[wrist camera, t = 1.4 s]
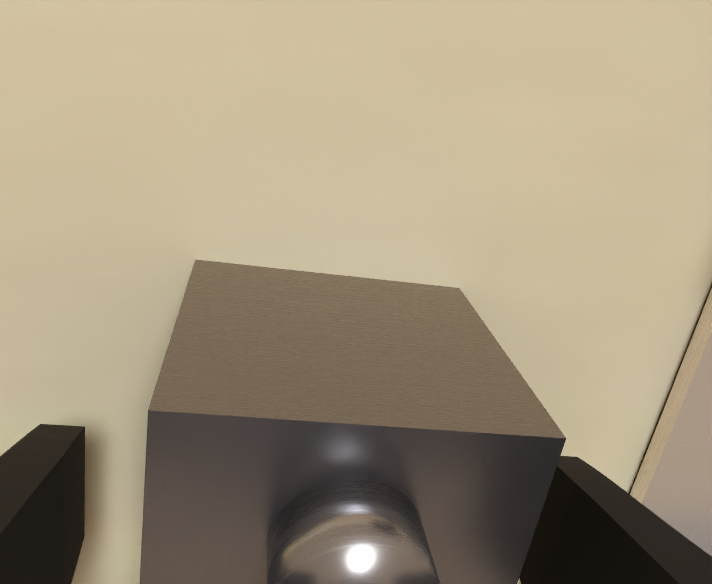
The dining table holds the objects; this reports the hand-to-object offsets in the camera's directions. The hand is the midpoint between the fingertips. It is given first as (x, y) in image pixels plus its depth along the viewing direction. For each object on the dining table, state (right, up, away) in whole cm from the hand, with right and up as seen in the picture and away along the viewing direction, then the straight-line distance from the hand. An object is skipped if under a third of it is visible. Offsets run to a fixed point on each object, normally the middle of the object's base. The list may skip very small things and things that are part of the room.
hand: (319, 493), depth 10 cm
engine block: (0, +1, +2) cm, 2 cm away
